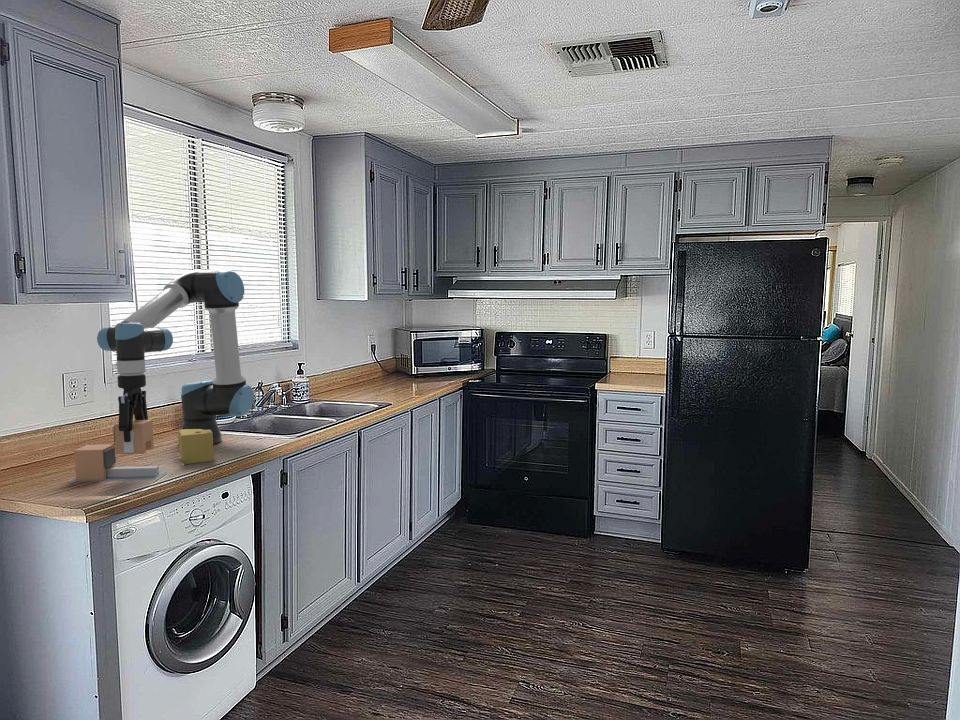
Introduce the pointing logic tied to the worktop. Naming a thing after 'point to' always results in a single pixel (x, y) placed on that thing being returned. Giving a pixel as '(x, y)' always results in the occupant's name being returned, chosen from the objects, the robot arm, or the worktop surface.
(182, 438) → the cheese
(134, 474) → the rail
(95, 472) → the block
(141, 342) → the robot arm
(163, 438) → the worktop surface
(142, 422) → the block
